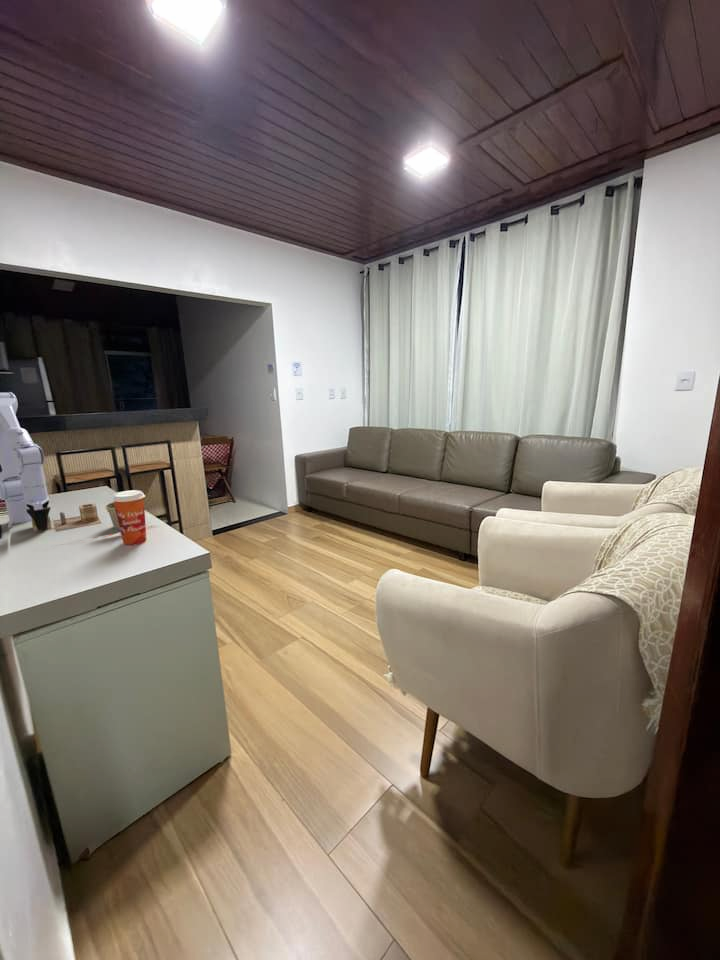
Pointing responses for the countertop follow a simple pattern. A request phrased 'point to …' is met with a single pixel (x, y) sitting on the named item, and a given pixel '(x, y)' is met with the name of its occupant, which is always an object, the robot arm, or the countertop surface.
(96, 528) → the countertop surface
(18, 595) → the countertop surface
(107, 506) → the flower pot
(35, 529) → the sleeve
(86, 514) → the seated sleeve
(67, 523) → the pin board
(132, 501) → the coffee cup
